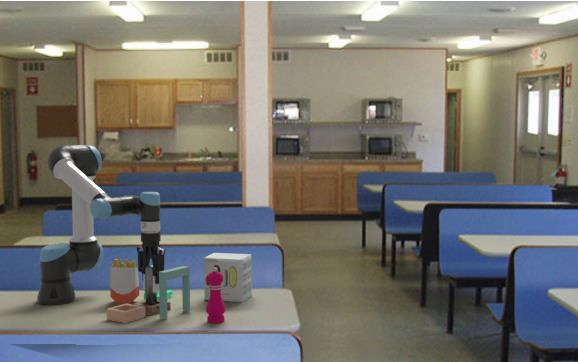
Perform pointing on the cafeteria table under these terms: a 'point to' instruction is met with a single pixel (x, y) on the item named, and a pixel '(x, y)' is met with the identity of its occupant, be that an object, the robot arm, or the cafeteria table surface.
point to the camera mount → (169, 292)
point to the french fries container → (124, 281)
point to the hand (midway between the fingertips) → (151, 290)
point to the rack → (125, 313)
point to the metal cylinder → (150, 284)
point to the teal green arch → (163, 278)
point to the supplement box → (230, 275)
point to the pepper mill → (215, 298)
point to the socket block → (152, 307)
